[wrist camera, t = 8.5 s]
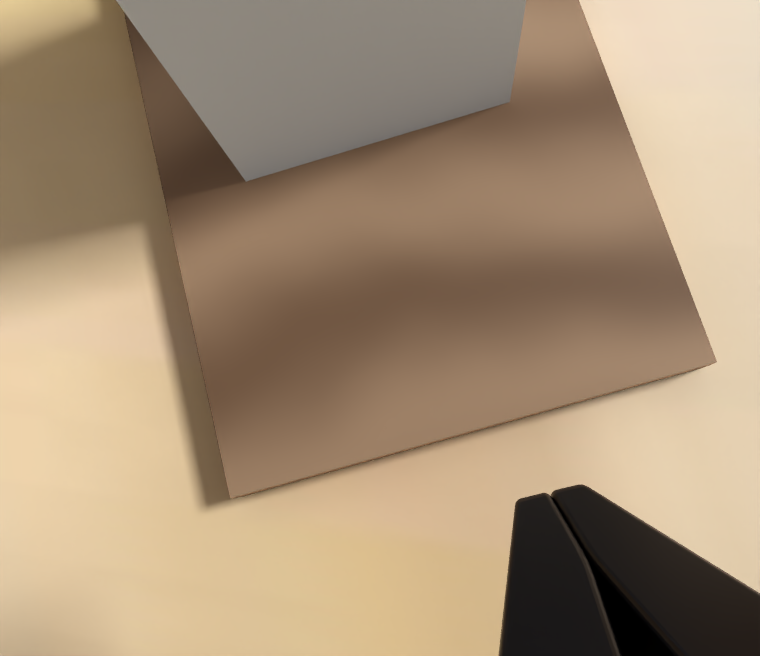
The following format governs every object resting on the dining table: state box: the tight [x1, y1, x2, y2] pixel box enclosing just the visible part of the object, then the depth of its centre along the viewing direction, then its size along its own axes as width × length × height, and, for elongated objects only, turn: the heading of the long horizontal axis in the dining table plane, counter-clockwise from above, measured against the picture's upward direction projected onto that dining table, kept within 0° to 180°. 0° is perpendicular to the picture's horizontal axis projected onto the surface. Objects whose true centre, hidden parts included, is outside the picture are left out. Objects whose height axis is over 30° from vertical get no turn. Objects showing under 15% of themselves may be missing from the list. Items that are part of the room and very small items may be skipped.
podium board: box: [124, 0, 717, 498], centre depth 24 cm, size 20×15×1 cm
